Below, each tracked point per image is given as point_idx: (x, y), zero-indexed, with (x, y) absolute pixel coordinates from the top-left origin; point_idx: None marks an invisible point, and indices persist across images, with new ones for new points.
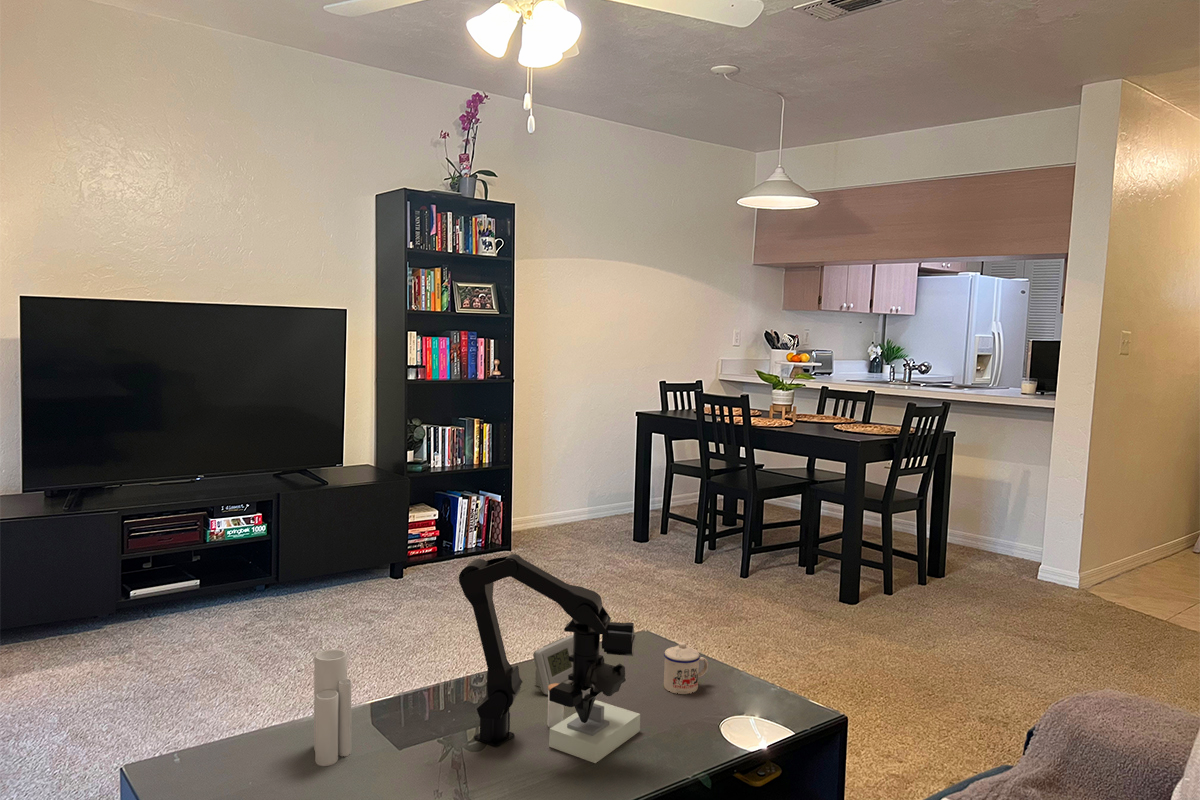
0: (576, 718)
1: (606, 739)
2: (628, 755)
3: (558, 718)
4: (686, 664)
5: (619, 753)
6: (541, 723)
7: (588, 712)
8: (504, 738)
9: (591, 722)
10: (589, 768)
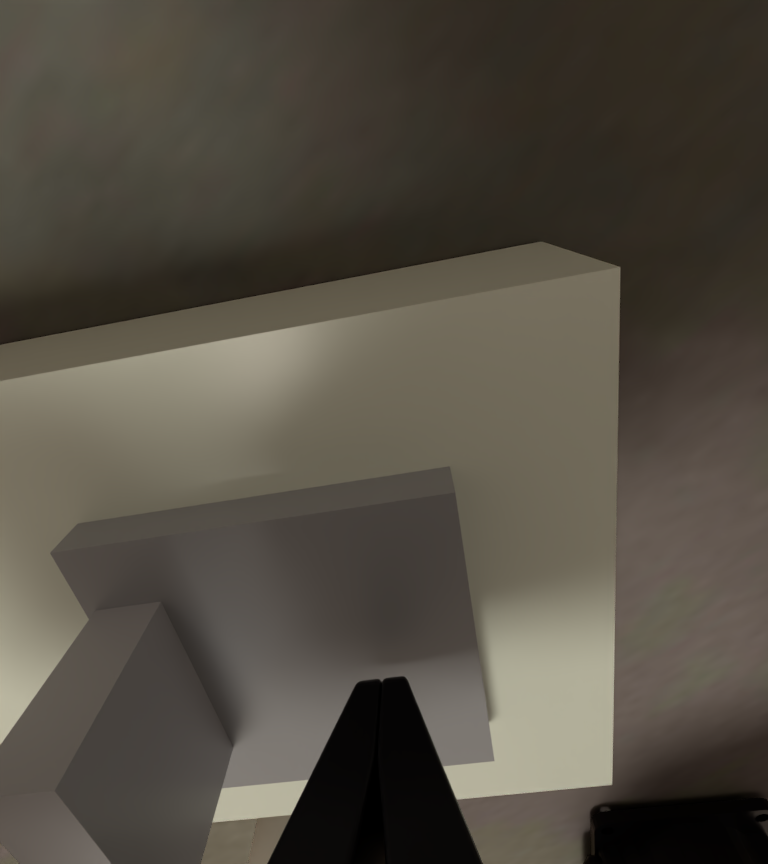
0: None
1: (336, 312)
2: (158, 105)
3: None
4: None
5: (212, 213)
6: None
7: (359, 823)
8: (686, 825)
9: (268, 652)
10: (659, 210)
